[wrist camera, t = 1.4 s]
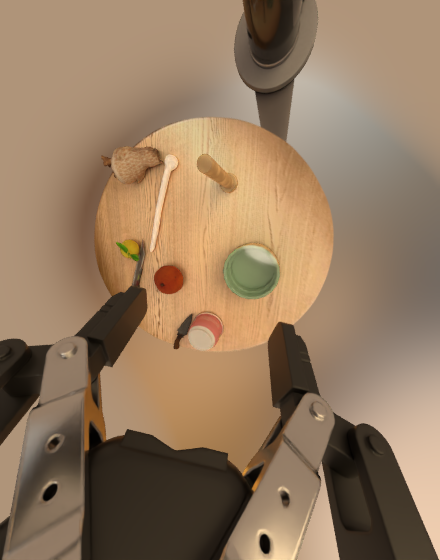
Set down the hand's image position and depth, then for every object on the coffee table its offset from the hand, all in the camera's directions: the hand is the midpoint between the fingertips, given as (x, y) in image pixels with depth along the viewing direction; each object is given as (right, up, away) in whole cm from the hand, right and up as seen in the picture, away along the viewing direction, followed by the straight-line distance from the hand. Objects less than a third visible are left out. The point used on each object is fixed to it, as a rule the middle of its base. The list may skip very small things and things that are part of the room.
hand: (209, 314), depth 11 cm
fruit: (-14, +3, +50) cm, 52 cm away
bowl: (+10, +5, +41) cm, 43 cm away
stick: (+3, +27, +36) cm, 46 cm away
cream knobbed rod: (-16, +23, +43) cm, 52 cm away
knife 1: (-23, +15, +47) cm, 55 cm away
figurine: (-30, +32, +40) cm, 59 cm away
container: (-5, -16, +44) cm, 47 cm away
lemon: (-30, +14, +51) cm, 60 cm away
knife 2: (-10, -18, +54) cm, 58 cm away
